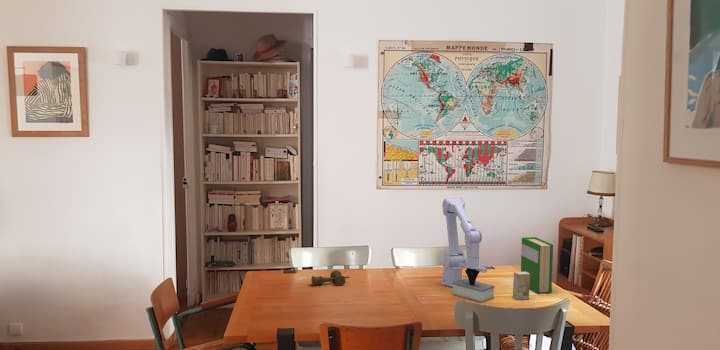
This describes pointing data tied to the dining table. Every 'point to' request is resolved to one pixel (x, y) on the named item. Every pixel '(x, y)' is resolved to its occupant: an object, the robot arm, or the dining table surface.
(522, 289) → the skincare box
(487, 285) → the lid
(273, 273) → the dining table surface
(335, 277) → the kendama
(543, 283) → the hardback book
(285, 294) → the dining table surface
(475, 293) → the box
